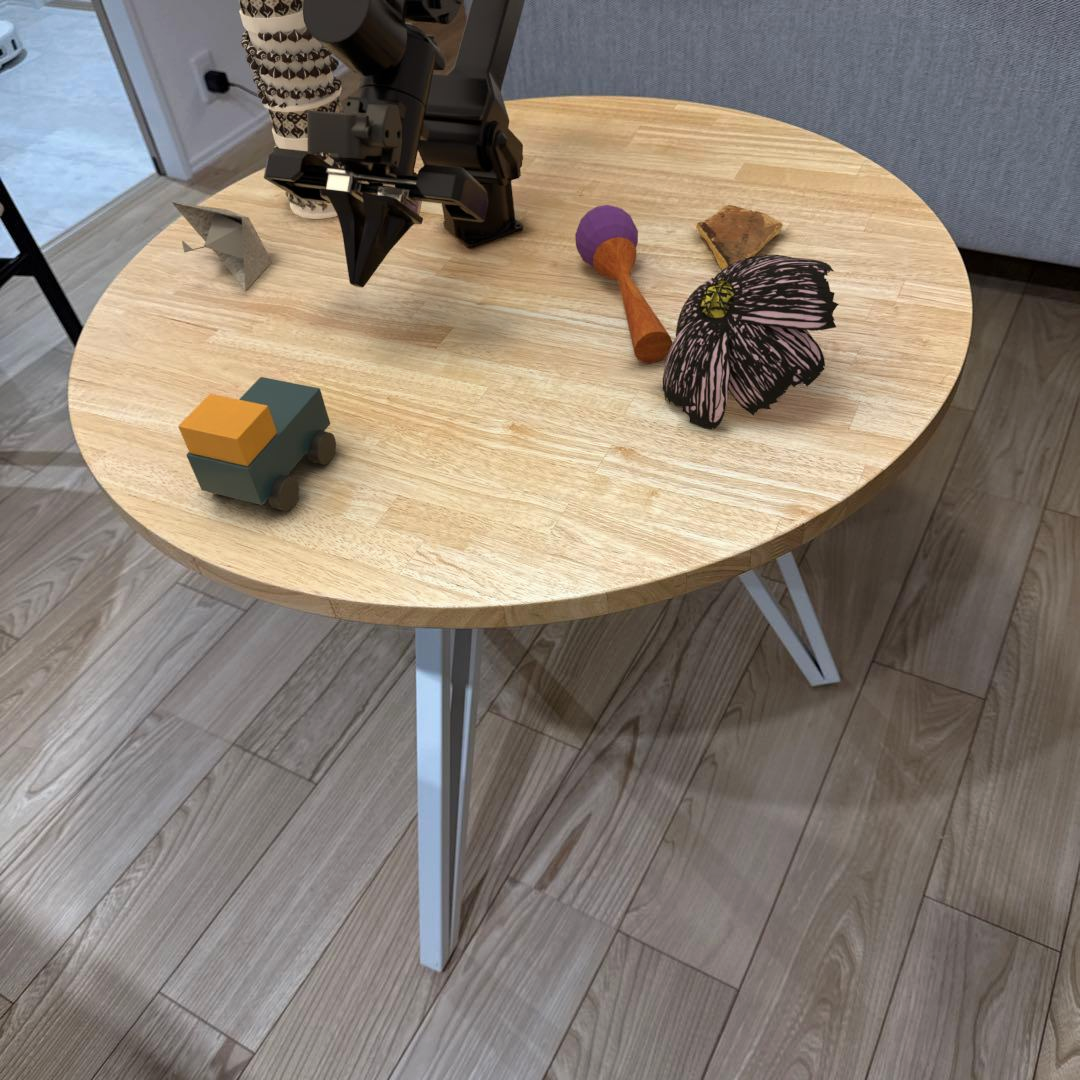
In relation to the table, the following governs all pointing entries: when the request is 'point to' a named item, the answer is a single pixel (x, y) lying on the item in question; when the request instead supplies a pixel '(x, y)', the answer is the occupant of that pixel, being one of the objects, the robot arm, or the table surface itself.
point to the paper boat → (228, 240)
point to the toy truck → (258, 441)
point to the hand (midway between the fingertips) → (356, 285)
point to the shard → (737, 233)
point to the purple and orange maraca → (622, 275)
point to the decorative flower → (748, 336)
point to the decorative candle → (290, 79)
